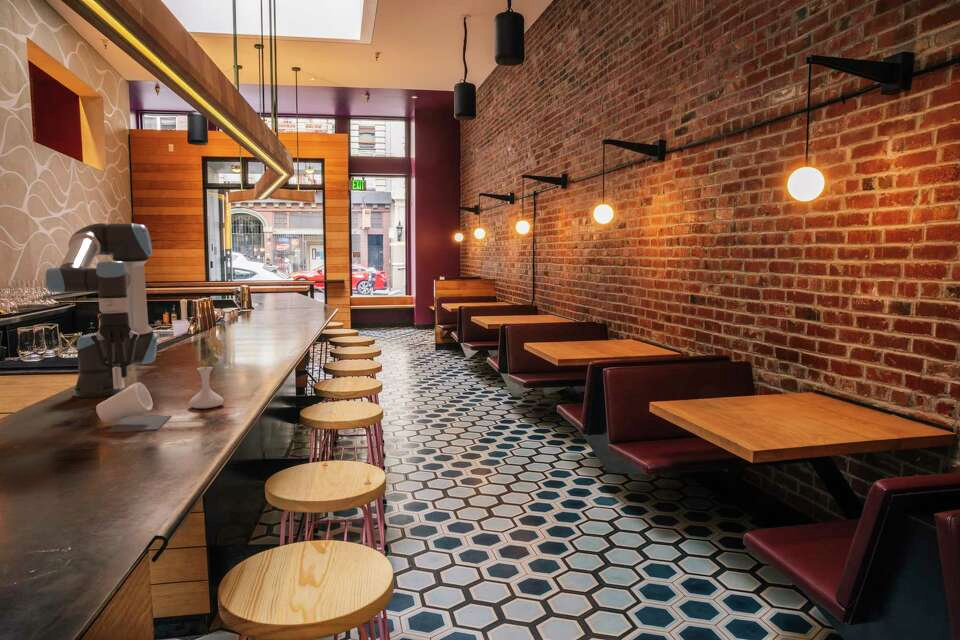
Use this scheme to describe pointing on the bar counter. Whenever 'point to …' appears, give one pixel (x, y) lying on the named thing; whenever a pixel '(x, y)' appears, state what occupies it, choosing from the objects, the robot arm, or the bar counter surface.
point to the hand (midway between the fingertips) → (119, 388)
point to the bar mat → (139, 424)
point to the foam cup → (125, 403)
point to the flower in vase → (206, 395)
